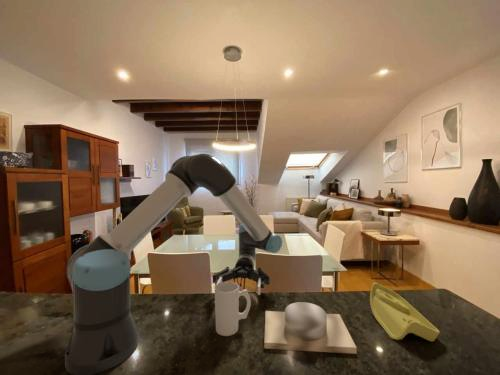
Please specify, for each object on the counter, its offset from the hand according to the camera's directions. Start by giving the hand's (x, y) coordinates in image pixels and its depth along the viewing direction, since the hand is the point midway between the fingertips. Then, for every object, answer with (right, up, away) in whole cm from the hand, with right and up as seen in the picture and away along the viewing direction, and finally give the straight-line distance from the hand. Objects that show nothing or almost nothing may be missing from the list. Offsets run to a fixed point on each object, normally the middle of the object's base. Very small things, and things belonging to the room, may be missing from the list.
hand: (237, 290), depth 74 cm
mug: (-1, -7, -9) cm, 12 cm away
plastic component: (+48, -7, -6) cm, 49 cm away
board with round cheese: (+19, -7, -11) cm, 23 cm away
